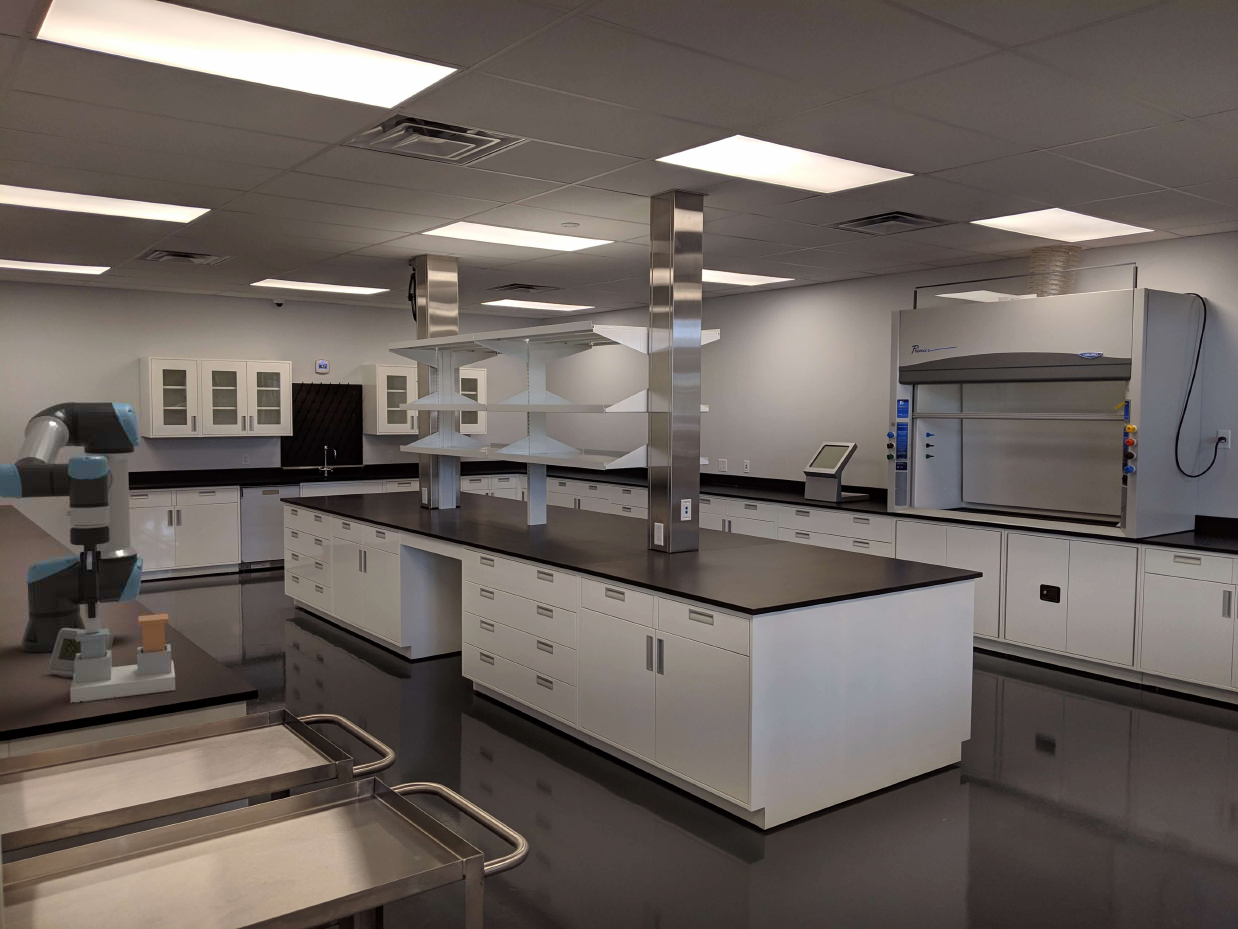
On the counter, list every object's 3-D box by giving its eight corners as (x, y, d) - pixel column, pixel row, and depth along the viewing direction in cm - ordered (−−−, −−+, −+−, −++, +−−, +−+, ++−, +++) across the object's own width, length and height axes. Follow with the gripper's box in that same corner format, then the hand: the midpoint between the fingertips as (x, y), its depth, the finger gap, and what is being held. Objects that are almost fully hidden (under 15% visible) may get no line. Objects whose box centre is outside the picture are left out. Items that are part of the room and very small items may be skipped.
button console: (75, 684, 204) (74, 649, 204) (173, 673, 214) (172, 639, 213) (70, 703, 191) (69, 666, 191) (175, 690, 200) (174, 654, 200)
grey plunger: (78, 666, 200) (77, 631, 200) (109, 663, 203) (108, 628, 203) (76, 673, 195) (75, 637, 195) (108, 669, 198) (107, 634, 197)
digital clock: (44, 675, 212) (43, 630, 211) (83, 666, 219) (82, 623, 219) (83, 685, 203) (81, 639, 203) (122, 676, 211) (120, 631, 211)
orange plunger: (139, 650, 206) (138, 616, 205) (168, 647, 209) (167, 613, 208) (139, 656, 201) (138, 621, 200) (169, 653, 203) (168, 618, 203)
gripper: (72, 523, 202) (74, 627, 203) (67, 529, 190) (70, 640, 191) (110, 522, 205) (112, 624, 206) (108, 528, 193) (111, 636, 195)
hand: (92, 631), depth 199 cm, fingers closed
